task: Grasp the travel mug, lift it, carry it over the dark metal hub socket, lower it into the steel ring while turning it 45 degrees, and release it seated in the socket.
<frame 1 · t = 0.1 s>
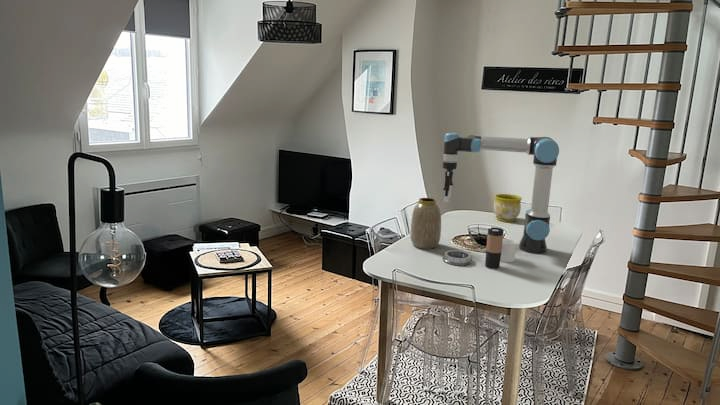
hand: (447, 199, 293), 28 cm above the table, fingers open, 13 cm apart
flowerpot: (505, 220, 364), on the table
hub: (457, 260, 277), on the table
travel mug: (492, 267, 270), on the table
vase: (424, 245, 302), on the table
mug: (505, 259, 283), on the table
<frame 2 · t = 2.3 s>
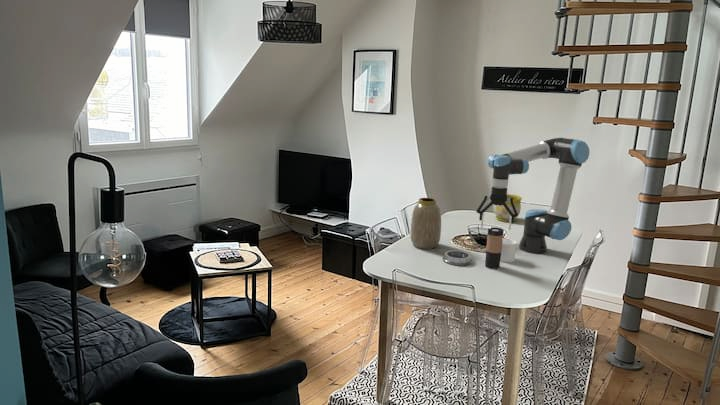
hand: (495, 228, 265), 21 cm above the table, fingers open, 13 cm apart
nothing on the table moved.
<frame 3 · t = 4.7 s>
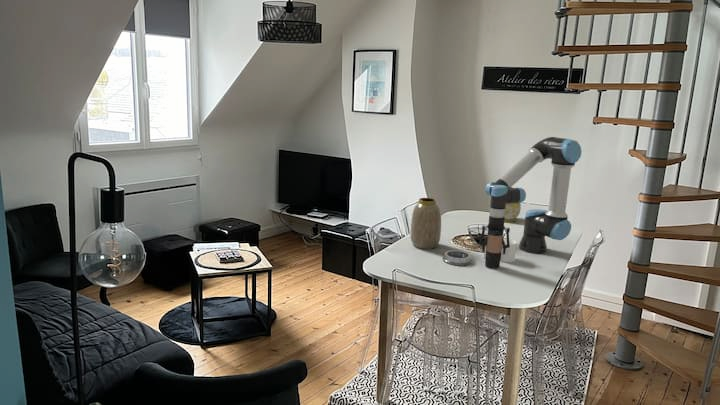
hand: (493, 259, 269), 4 cm above the table, fingers closed on travel mug, 8 cm apart
travel mug: (492, 267, 270), on the table, touching gripper
everything else where it was.
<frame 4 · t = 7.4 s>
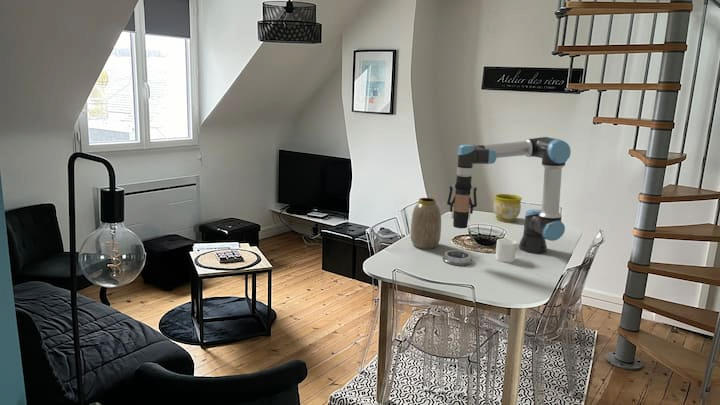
hand: (460, 218, 272), 23 cm above the table, fingers closed on travel mug, 8 cm apart
travel mug: (460, 226, 273), point 19 cm above the table, touching gripper
everything else where it was.
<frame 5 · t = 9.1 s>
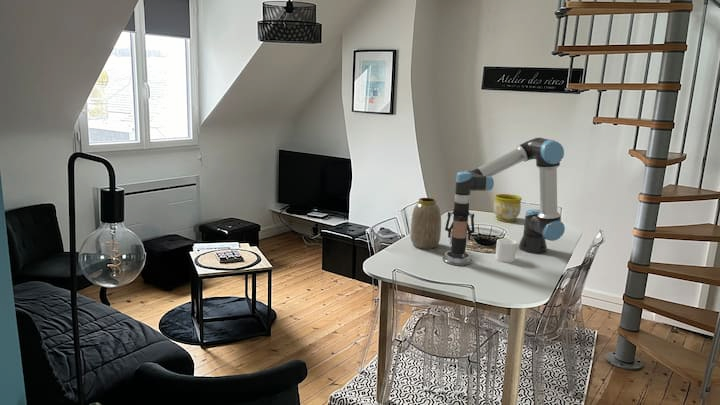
hand: (458, 244, 275), 9 cm above the table, fingers closed on travel mug, 8 cm apart
travel mug: (458, 252, 276), point 5 cm above the table, touching gripper
everything else where it was.
when the fingers open (6 cm above the table, at t = 10.5 s): travel mug stays where it is, resting on hub.
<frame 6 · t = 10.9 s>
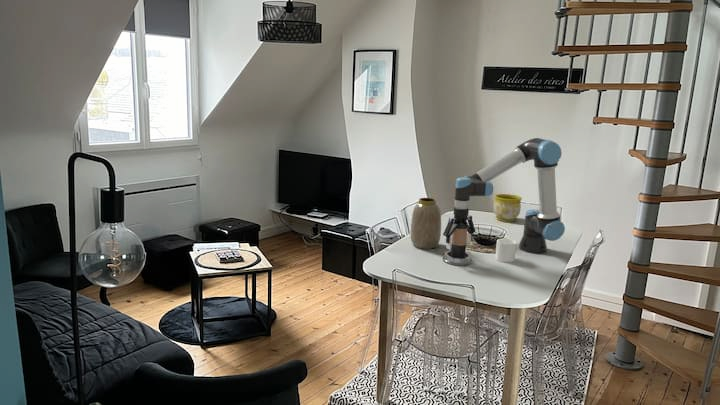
hand: (458, 247, 275), 8 cm above the table, fingers open, 13 cm apart
travel mug: (457, 259, 277), point 1 cm above the table, touching hub
everything else where it was.
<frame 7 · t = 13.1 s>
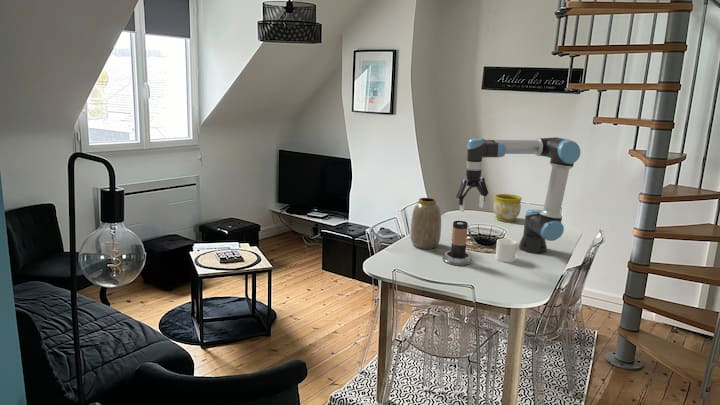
hand: (471, 209, 274), 27 cm above the table, fingers open, 13 cm apart
nothing on the table moved.
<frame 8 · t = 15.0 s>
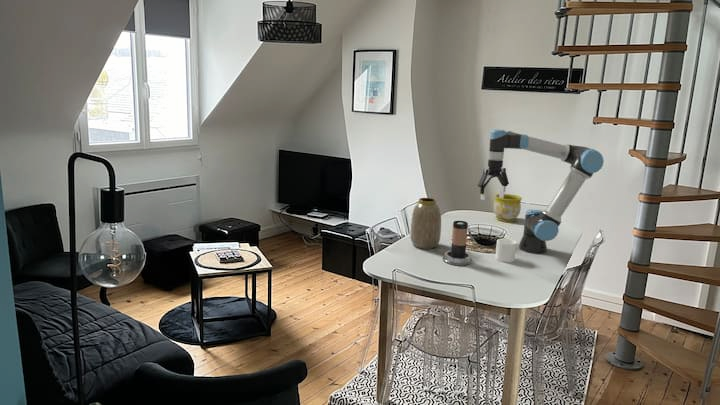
hand: (492, 198, 280), 32 cm above the table, fingers open, 13 cm apart
nothing on the table moved.
at the end: travel mug 0.1 cm off-centre on the hub, point 0.8 cm above the hub's base; travel mug tilted 0°; travel mug touching hub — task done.
